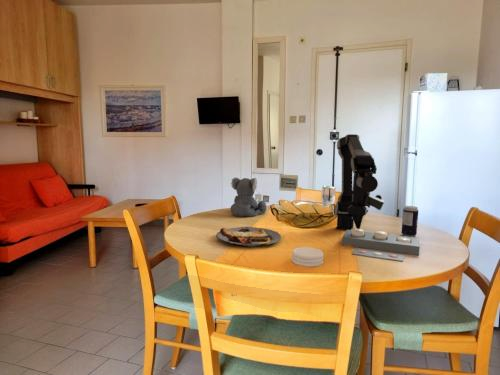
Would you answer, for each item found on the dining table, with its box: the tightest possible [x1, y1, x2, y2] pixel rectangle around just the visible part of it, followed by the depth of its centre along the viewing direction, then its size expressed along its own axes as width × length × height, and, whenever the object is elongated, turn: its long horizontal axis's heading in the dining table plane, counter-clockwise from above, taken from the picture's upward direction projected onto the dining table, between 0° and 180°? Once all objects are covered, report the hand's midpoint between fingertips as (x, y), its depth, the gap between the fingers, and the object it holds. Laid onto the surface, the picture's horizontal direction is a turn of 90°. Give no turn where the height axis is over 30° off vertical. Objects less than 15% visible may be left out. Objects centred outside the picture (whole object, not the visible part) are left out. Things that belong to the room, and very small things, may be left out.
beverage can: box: [400, 205, 419, 237], centre depth 143 cm, size 6×6×12 cm
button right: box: [397, 237, 410, 243], centre depth 126 cm, size 4×4×3 cm
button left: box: [351, 228, 365, 237], centre depth 132 cm, size 4×4×3 cm
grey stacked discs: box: [291, 246, 324, 268], centre depth 111 cm, size 10×10×4 cm
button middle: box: [373, 230, 388, 240], centre depth 129 cm, size 4×4×3 cm
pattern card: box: [351, 247, 404, 262], centre depth 119 cm, size 16×7×1 cm, turn 66°
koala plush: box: [229, 177, 267, 218], centre depth 179 cm, size 17×18×20 cm
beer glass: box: [321, 185, 336, 206], centre depth 178 cm, size 7×7×15 cm
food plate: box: [215, 226, 282, 248], centre depth 135 cm, size 25×23×4 cm
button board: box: [341, 229, 421, 256], centre depth 129 cm, size 26×12×3 cm, turn 66°
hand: (358, 228), depth 132 cm, fingers closed
